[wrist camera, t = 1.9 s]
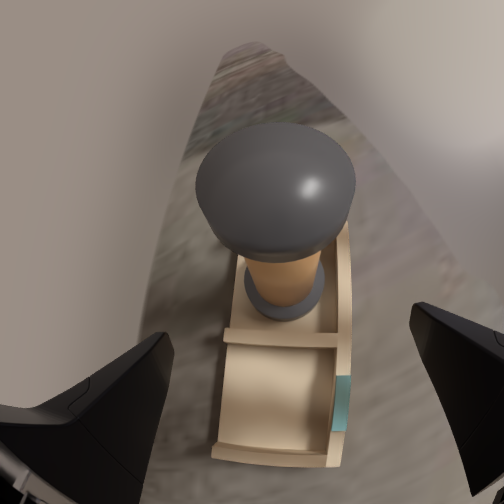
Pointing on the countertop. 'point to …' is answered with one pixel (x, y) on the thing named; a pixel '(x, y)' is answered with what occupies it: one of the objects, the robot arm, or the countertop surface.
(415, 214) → the countertop surface
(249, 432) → the divided tray
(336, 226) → the bobbin
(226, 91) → the countertop surface
